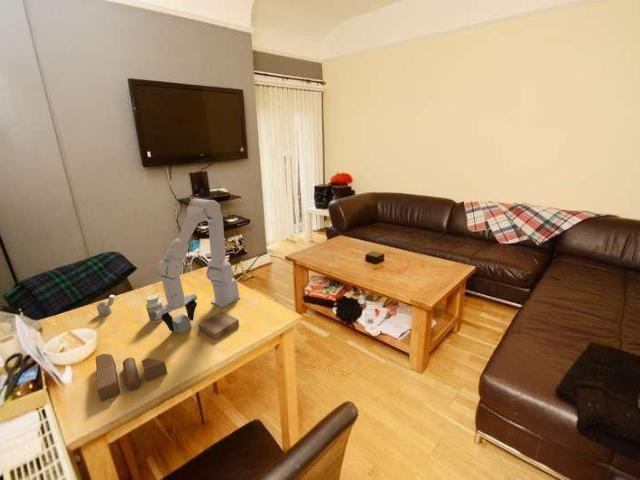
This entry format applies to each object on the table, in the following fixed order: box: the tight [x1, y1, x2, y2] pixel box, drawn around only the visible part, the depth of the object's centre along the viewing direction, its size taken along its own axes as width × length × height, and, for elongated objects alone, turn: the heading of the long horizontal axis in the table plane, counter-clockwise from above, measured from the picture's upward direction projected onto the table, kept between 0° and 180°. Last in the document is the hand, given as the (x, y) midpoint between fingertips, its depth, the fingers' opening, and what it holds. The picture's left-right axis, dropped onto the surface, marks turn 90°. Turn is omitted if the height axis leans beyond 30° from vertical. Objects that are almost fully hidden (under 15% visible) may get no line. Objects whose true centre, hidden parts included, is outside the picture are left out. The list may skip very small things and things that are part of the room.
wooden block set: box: [95, 353, 168, 402], centre depth 96 cm, size 17×6×18 cm
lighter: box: [96, 294, 116, 316], centre depth 127 cm, size 7×2×8 cm, turn 98°
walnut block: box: [197, 310, 240, 341], centre depth 115 cm, size 10×10×3 cm
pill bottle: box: [145, 294, 164, 324], centre depth 121 cm, size 5×5×10 cm
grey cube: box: [172, 313, 192, 335], centre depth 115 cm, size 4×4×4 cm
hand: (181, 325), depth 115 cm, fingers open, 7 cm apart
